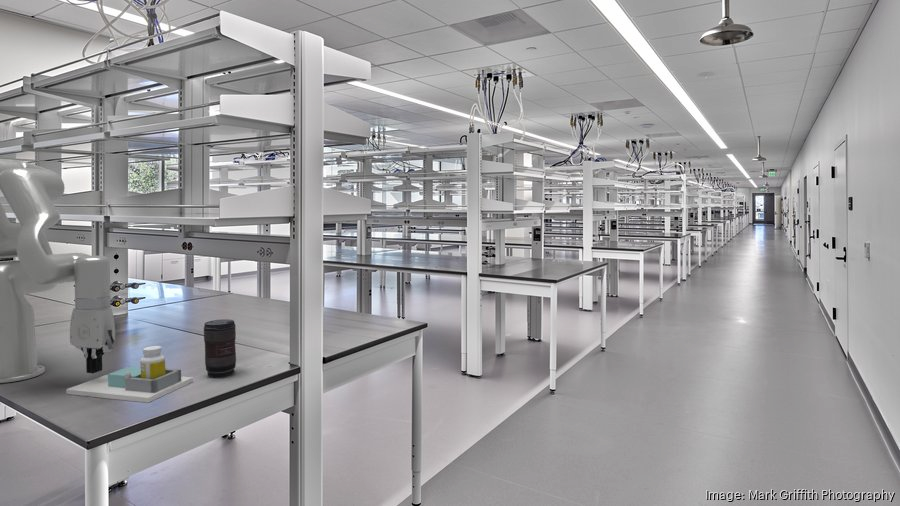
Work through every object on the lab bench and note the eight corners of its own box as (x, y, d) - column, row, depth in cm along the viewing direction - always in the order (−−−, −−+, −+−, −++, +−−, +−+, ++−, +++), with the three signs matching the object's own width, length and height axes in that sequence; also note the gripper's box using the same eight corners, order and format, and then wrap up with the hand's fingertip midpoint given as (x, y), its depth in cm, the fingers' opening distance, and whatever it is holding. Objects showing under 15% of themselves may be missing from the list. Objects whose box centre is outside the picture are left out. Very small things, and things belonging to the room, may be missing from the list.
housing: (108, 385, 127) (107, 374, 127) (129, 377, 134) (128, 366, 133) (134, 388, 126) (134, 376, 125) (154, 380, 132) (154, 368, 132)
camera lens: (240, 368, 146) (238, 318, 144) (232, 378, 138) (230, 324, 136) (210, 370, 144) (208, 318, 143) (201, 379, 136) (199, 325, 135)
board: (66, 393, 125) (65, 371, 124) (118, 374, 140) (117, 354, 139) (148, 402, 120) (147, 379, 119) (192, 381, 134) (192, 361, 134)
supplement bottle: (170, 381, 131) (168, 345, 130) (158, 389, 126) (157, 350, 125) (148, 381, 131) (147, 345, 130) (136, 389, 125) (135, 350, 124)
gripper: (55, 303, 129) (57, 372, 130) (104, 308, 125) (105, 379, 127) (83, 298, 136) (84, 364, 138) (129, 303, 133) (130, 370, 134)
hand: (94, 371), depth 132 cm, fingers closed
